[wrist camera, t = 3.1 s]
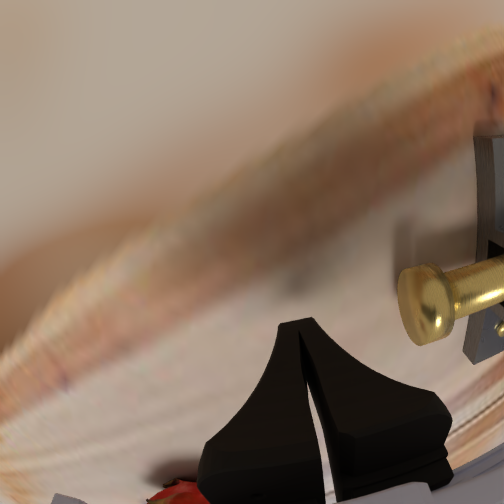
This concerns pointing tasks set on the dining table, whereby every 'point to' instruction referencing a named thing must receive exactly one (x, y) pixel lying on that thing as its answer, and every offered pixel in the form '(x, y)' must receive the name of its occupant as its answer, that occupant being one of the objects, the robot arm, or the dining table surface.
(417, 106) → the dining table surface
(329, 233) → the dining table surface
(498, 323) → the hinge leaves
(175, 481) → the dragon fruit
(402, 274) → the pin
